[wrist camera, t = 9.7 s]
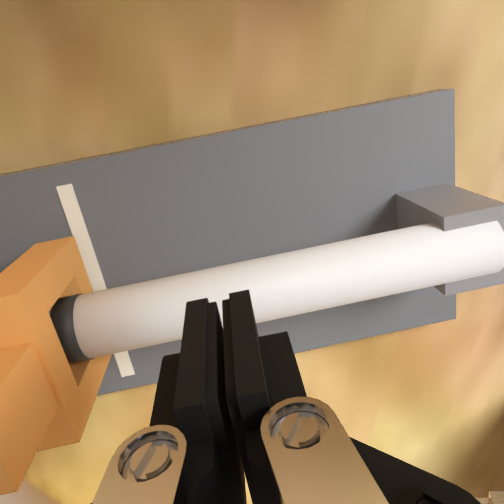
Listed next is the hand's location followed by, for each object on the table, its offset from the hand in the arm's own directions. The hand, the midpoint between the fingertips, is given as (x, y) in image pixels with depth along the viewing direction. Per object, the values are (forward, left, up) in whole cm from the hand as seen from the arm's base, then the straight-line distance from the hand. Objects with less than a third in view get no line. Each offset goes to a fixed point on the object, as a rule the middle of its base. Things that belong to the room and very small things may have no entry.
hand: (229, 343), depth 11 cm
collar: (+8, +3, -12) cm, 15 cm away
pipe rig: (+1, +3, -14) cm, 15 cm away
